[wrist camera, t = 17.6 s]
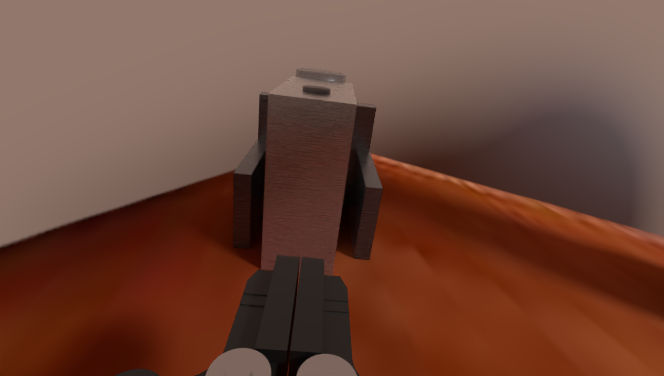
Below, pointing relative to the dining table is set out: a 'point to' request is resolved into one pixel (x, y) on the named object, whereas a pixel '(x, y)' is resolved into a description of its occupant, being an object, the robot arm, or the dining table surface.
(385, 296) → the dining table surface
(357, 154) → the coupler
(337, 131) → the block
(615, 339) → the dining table surface
